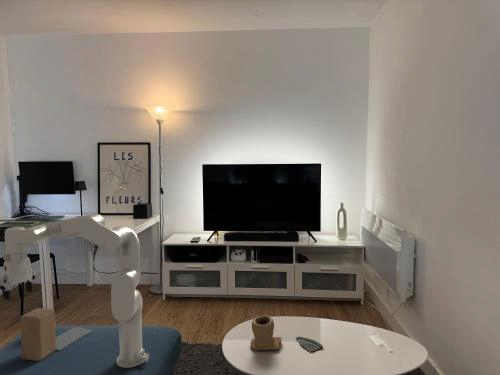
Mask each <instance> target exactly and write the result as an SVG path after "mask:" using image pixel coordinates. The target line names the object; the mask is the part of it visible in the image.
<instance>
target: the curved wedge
mask: <svg viewBox="0 0 500 375" xmlns="http://www.w3.org/2000/svg"><path fill="white" fill-rule="evenodd" d="M295 340H296V341H297V343H298V344H299V347H301V348H302V349H304V350H305V351H307V352H308V353H310V354H312V353H314V352H317V351H319V350H321V349H323V348H324V345H322V344H321V343H320V342H318V341H317V340H314V339H311V338H309V337H305V336H296V337H295Z"/></svg>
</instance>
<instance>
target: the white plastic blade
mask: <svg viewBox="0 0 500 375" xmlns="http://www.w3.org/2000/svg"><path fill="white" fill-rule="evenodd" d="M368 337H369V338H370V339H371V340H372V341H373V343H375V345H376V346H378V347H382V346H383V347H384V348H386V350H387V351H388V352H389V353H393V350H392V349H391V347H389V345H388V344H387V343H386V342H385V341H384V340H383V339H382V338H381V337H380V335H378V334H370V335H369V336H368Z"/></svg>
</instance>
